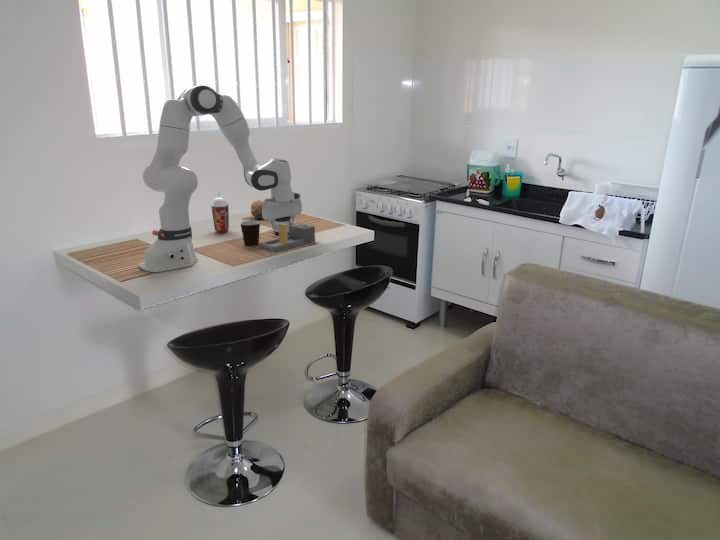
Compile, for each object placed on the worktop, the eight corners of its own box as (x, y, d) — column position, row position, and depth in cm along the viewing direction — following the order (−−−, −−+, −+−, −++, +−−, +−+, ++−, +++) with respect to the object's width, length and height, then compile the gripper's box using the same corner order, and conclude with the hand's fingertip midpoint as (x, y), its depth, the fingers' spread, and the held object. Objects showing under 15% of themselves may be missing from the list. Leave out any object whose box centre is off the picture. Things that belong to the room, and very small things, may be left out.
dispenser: (274, 251, 232) (273, 234, 230) (260, 247, 238) (259, 231, 236) (314, 241, 249) (314, 225, 246) (300, 237, 255) (300, 221, 253)
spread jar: (283, 236, 257) (282, 212, 253) (264, 233, 262) (263, 210, 258) (298, 231, 266) (297, 208, 263) (280, 228, 272) (278, 205, 268)
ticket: (286, 244, 240) (285, 225, 237) (279, 242, 243) (278, 223, 240) (288, 244, 240) (287, 224, 237) (280, 242, 244) (279, 223, 241)
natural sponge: (270, 216, 297) (269, 199, 294) (265, 220, 289) (264, 202, 286) (254, 216, 298) (253, 198, 295) (249, 219, 290) (247, 201, 287)
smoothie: (234, 231, 267) (231, 191, 260) (221, 234, 260) (218, 193, 254) (222, 228, 271) (219, 189, 265) (209, 232, 264) (206, 192, 258)
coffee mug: (256, 247, 239) (255, 225, 236) (238, 246, 240) (237, 224, 237) (266, 240, 250) (265, 219, 246) (249, 239, 251) (247, 218, 248)
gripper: (267, 200, 225) (269, 232, 230) (303, 193, 240) (304, 224, 244) (258, 198, 230) (259, 229, 234) (294, 192, 244) (295, 221, 248)
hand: (283, 226), depth 239 cm, fingers open, 8 cm apart
